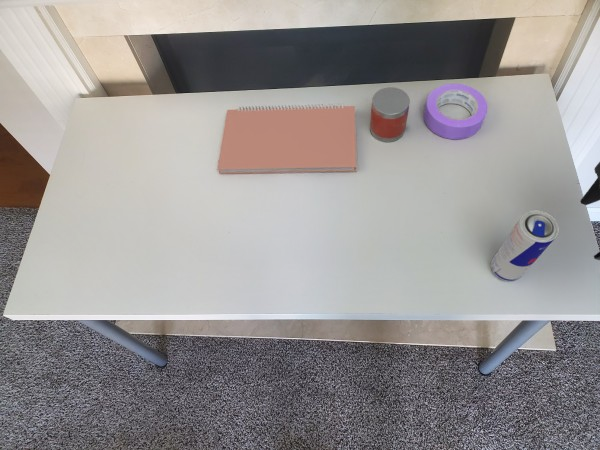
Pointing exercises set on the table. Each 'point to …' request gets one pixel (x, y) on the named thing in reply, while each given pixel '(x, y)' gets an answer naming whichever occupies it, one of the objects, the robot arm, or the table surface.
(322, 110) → the notebook
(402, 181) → the table surface
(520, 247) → the beverage can
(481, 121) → the tape roll
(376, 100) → the food tin
